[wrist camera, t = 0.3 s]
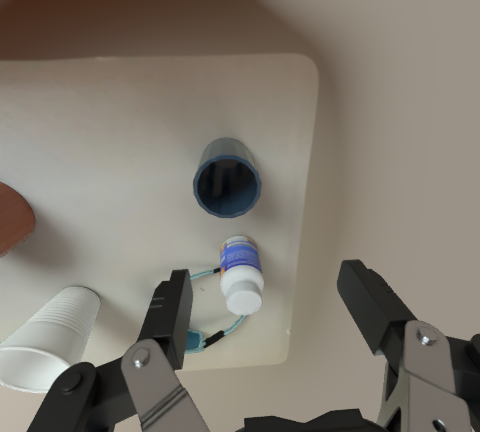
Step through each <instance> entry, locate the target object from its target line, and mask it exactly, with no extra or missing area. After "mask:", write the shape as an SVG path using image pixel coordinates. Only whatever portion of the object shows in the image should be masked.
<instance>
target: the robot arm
mask: <svg viewBox="0 0 480 432" xmlns="http://www.w3.org/2000/svg"><path fill="white" fill-rule="evenodd" d="M337 288H338V291H339V294H340V296H341V298H342V299H343V301H344V303H345V305H346V306H347V308H348V310H349V312H350V314H351V315H352V317H353V319H354V321H355V323H356V324H357V326H358V328H359V330H360V332H361V333H362V335H363V337H364V339H365V340H366V342H367V344H368V346H369V348H370V349H371V351H372V353H373V354H374V356H375V355H385V357H386V359H387V362H386V366H385V375H384V385H383V394H382V403H381V409H380V412H379V416H378V419H377V423H374V422H372V421H369V420H367V419H363V418H362V415H361V413H360V410H359V409H346V410H335V411H330V412H327V413H325V414H323V415H321V416H319V417H317V418H315V419H313V420H311V421H309V422H306V423H300V422H296V421H292V420H288V419H283V418H280V417H276V416H265V417H253V418H245V419H244V424H245V427H243V428H241V429H239V430H237V431H236V432H472V429H471V426H472V428H473V429H474V431H475V432H480V334H476V335H474V336H473V337H472V338H471V340H470V341H466V340H461V339H457V338H452V337H448V336H444V335H443V334H442V333H441V332H440V331H439V330H438V329H437V328H435V327H434V326H432V325H430V324H428V323H426V322H423V321H419V320H417V318H416V317H415V316H414V315H413V314H412V312H411V311H410V310H409V309H408V308H407V306H406V305H405V304H404V303H403V302H402V300H401V299H400V298H399V297H398V296H397V295H396V293H394V292H393V290H392V289H391V288H390V286H388V284H387V283H386V282H385V280H384V279H383V278H382V277H381V276H380V275H379V274H377V273H376V272H375V271H373V270H372V269H367V268H366V267H365V265H364V264H363V263H362V262H361V261H360V260H358V259H357V260H344V261H342V264H341V268H340V272H339V276H338V280H337ZM192 301H193V292H192V285H191V280H190V274H189V270H188V269H181V270H173V271H172V274H171V277H170V281H162V282H161V283H160V284H159V286H158V287H157V288H156V289H155V292H154V295H153V297H152V301H151V303H150V306H149V309H148V312H147V314H146V317H145V320H144V323H143V326H142V329H141V332H140V334H139V337H138V340H137V342H136V343H135V344H134V345H132V346H131V347H130V348H129V349H128V350H127V351H126V353H125V354H124V355H123V356H122V357H120V358H118V359H116V360H114V361H111V362H108V363H106V364H103V365H101V366H98V367H94V365H93V364H92V363H89V362H81V363H77V364H75V365H72V366H71V367H69V368H67V369H66V370H65V371H63V372H62V373H61V374H60V375H59V376H58V377H57V378H56V380H55V381H54V382H53V384H52V385H51V387H50V389H49V391H48V393H47V395H46V396H45V398H44V401H43V402H42V404H41V406H40V408H39V410H38V412H37V414H36V415H35V417H34V419H33V421H32V423H31V424H30V426H29V428H28V430H27V432H113V431H114V428H115V424H116V423H118V422H120V421H122V420H125V419H127V418H129V417H131V416H133V415H135V414H138V416H139V419H140V422H141V429H142V432H210V430H209V429H208V427H207V425H206V423H205V421H204V420H203V418H202V416H201V414H200V413H199V411H198V409H197V408H196V405H195V404H194V402H193V400H192V398H191V397H190V395H189V393H188V392H187V390H186V389H185V388H183V386H182V385H181V383H180V381H179V379H178V378H177V376H176V374H175V370H180V369H182V367H183V360H184V354H185V347H186V341H187V334H188V328H189V321H190V315H191V308H192Z"/></svg>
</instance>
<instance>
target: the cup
mask: <svg viewBox="0 0 480 432" xmlns="http://www.w3.org/2000/svg"><path fill="white" fill-rule="evenodd" d="M100 305H101V302H100V299H99V298H98V296H97V295H96V294H95V293H94V292H93V291H91V290H89V289H87V288H84V287H68V288H65V289H63V290H62V291H61V292H59V293H58V294H57V295H56V296H55V297H54V298H53V299H51V300H50V301H49V302H48V303H47V304H46V305H45V306H44V307H42V308H41V309H40V310H39V311H38V312H37V313H36V314H35V315H33V316H32V317H31V318H30V319H29V320H28V321H26V322H25V323H24V324H23V325H22V326H21V327H20V328H18V329H17V330H16V331H15V332H14V333H13V334H11V335H10V336H9V337H8V338H7V339H6V340H5V341H3V342H2V343H1V344H0V384H1V385H3V386H5V387H8V388H11V389H15V390H18V391H24V392H29V393H48V391H49V389H50V387H51V385H52V384H53V382H54V381H55V380H56V378H57V377H58V376H59V375H60V374H61V373H62V372H63V371H65V370H66V369H67V368H69V367H71V366H72V365H75V364H77V363H80V361H81V358H82V355H83V353H84V350H85V346H86V343H87V341H88V338H89V336H90V333H91V330H92V327H93V324H94V321H95V319H96V316H97V314H98V311H99V308H100Z"/></svg>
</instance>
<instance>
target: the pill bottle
mask: <svg viewBox="0 0 480 432" xmlns="http://www.w3.org/2000/svg"><path fill="white" fill-rule="evenodd" d="M220 287H221V290H222V292H223V294H224V295H225V296H226V301H227V307H228V309H229V310H230V311H231V312H232V313H234V314H237V315H249V314H252V313H254V312H256V311H257V310H258V309H259V308H260V307H261V305H262V296H261V292H262V290H263V287H264V278H263V274H262V269H261V265H260V261H259V256H258V251H257V247H256V244H255V243H254V241H253V240H251V239H250V238H248V237H245V236H234V237H231V238H229V239H227V240H226V241H225V242H224V243H223V245H222V247H221V256H220Z"/></svg>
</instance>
